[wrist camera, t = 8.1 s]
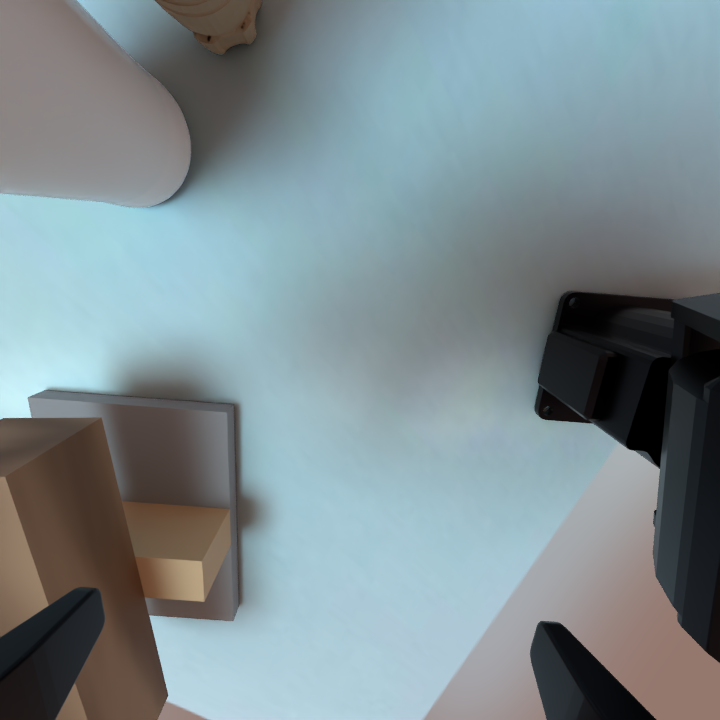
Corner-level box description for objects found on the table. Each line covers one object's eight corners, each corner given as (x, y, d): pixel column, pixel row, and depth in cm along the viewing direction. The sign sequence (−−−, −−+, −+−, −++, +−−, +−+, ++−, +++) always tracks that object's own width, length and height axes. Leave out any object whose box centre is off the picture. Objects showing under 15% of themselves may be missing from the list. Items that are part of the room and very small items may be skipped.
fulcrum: (233, 404, 19) (195, 448, 15) (238, 605, 23) (209, 687, 19) (44, 390, 19) (-51, 430, 15) (82, 594, 23) (16, 674, 18)
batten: (101, 417, 14) (4, 476, 10) (168, 695, 19) (117, 808, 15) (3, 418, 14) (-129, 477, 11) (93, 695, 19) (23, 807, 15)
